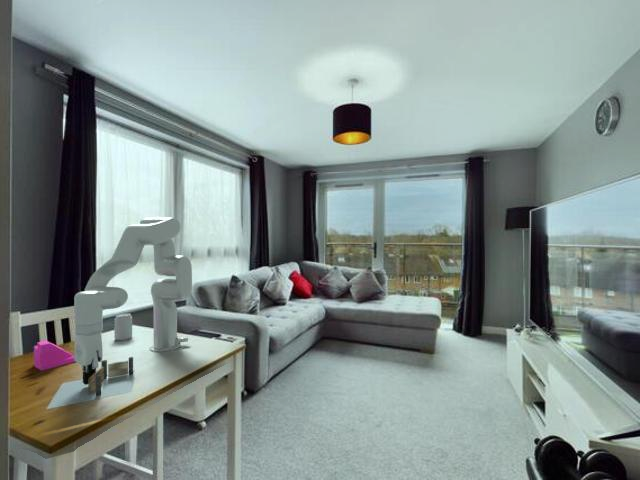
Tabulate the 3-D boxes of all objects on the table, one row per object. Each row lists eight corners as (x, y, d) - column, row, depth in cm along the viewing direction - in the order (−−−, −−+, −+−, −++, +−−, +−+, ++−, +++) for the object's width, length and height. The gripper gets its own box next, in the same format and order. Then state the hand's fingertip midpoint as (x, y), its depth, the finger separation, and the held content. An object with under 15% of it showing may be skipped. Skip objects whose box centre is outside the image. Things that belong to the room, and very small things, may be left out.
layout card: (134, 371, 113) (134, 370, 113) (131, 393, 97) (131, 391, 97) (62, 384, 103) (62, 382, 103) (46, 411, 87) (46, 409, 87)
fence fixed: (133, 372, 111) (133, 355, 111) (130, 389, 99) (130, 369, 99) (101, 378, 106) (101, 360, 106) (95, 396, 94) (95, 376, 94)
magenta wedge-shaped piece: (41, 372, 112) (41, 345, 112) (33, 365, 118) (33, 339, 118) (80, 362, 122) (80, 336, 122) (72, 356, 128) (71, 332, 128)
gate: (101, 379, 105) (101, 366, 105) (104, 379, 105) (104, 365, 105) (88, 393, 95) (88, 378, 95) (91, 393, 95) (91, 378, 95)
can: (110, 340, 148) (110, 316, 148) (122, 335, 155) (122, 312, 155) (123, 341, 146) (123, 316, 146) (135, 336, 154) (135, 313, 154)
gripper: (66, 327, 102) (66, 381, 102) (85, 335, 94) (85, 393, 94) (92, 322, 108) (92, 372, 108) (112, 328, 100) (112, 383, 100)
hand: (89, 382), depth 101 cm, fingers closed
